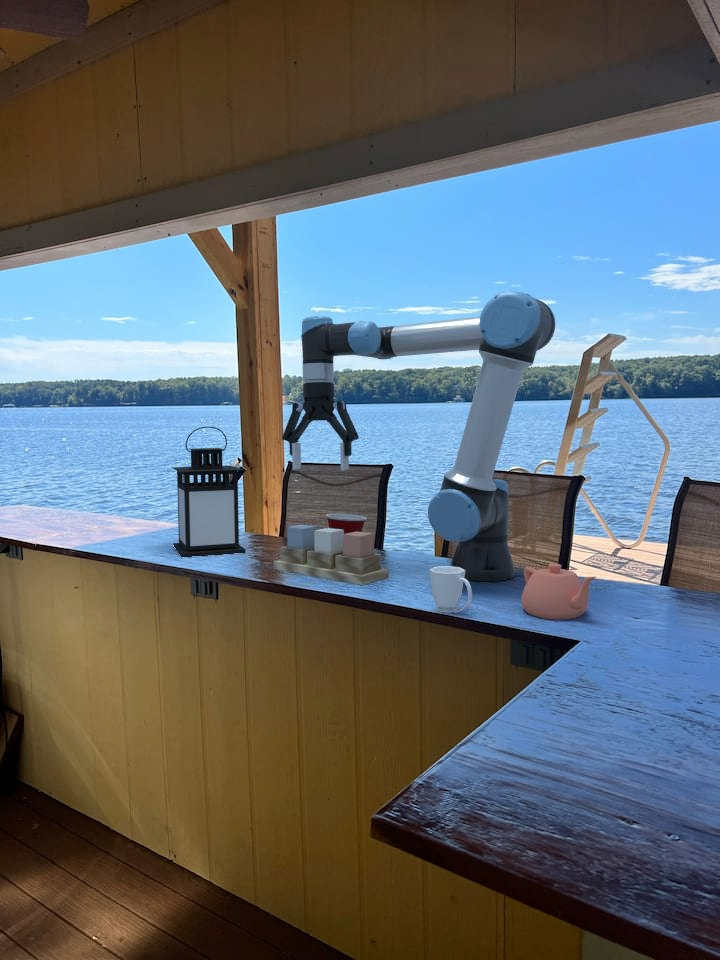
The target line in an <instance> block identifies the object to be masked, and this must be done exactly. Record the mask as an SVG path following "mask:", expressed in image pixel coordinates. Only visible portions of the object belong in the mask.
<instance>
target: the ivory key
mask: <svg viewBox="0 0 720 960" xmlns="http://www.w3.org/2000/svg"><path fill="white" fill-rule="evenodd" d="M343 534H344V530H341V529H333V528H329V527H327V528H326V527H324V528H321V529H316V530H314V538H315V552H321V553H327V554H333V553H337V552H342V551H343Z"/></svg>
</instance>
